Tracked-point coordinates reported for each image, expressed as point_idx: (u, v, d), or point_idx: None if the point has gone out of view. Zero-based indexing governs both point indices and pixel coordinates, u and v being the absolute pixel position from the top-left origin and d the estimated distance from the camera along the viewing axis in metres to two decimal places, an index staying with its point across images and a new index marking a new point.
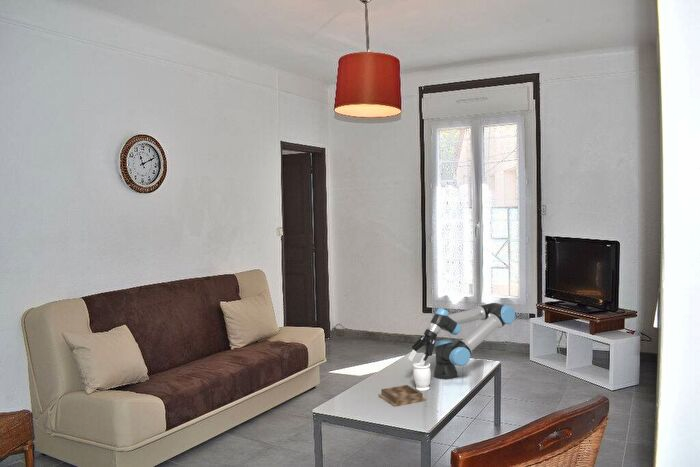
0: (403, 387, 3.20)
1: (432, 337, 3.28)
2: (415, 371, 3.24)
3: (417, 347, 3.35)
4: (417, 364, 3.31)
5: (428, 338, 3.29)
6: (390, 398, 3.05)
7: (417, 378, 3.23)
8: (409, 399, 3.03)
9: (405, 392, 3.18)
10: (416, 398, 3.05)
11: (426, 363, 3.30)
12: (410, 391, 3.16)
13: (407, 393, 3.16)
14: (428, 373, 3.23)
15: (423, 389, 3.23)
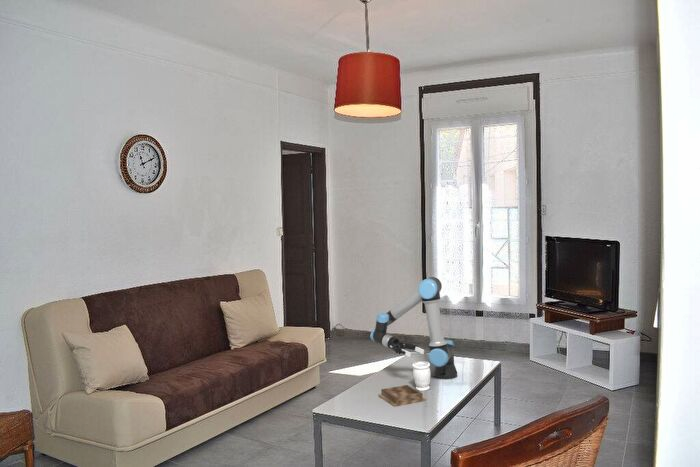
0: (403, 387, 3.20)
1: None
2: (414, 371, 3.24)
3: (411, 347, 3.42)
4: (418, 363, 3.30)
5: None
6: (390, 398, 3.05)
7: (416, 378, 3.23)
8: (409, 399, 3.03)
9: (405, 392, 3.18)
10: (416, 398, 3.05)
11: (427, 363, 3.28)
12: (410, 391, 3.16)
13: (407, 393, 3.16)
14: (426, 373, 3.21)
15: (422, 389, 3.23)
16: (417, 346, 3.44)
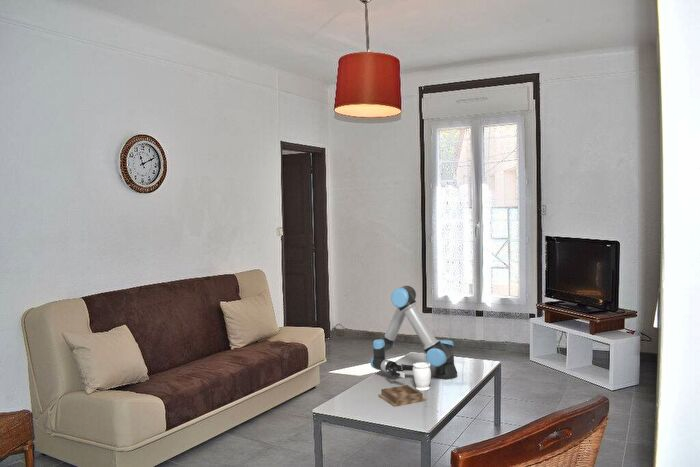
0: (403, 387, 3.20)
1: None
2: (414, 370, 3.25)
3: (409, 369, 3.43)
4: (418, 364, 3.31)
5: None
6: (390, 398, 3.05)
7: (416, 377, 3.24)
8: (409, 399, 3.03)
9: (405, 392, 3.18)
10: (416, 398, 3.05)
11: (427, 363, 3.30)
12: (410, 391, 3.16)
13: (407, 393, 3.16)
14: (427, 373, 3.23)
15: (422, 389, 3.23)
16: None
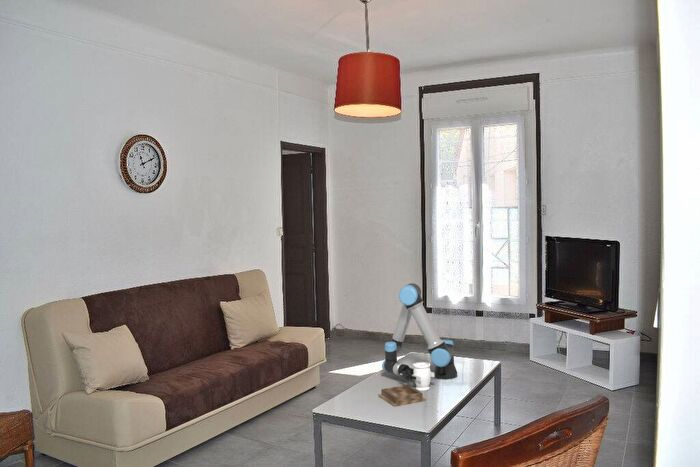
0: (403, 387, 3.20)
1: None
2: (414, 370, 3.25)
3: None
4: (418, 364, 3.31)
5: None
6: (390, 398, 3.05)
7: None
8: (409, 399, 3.03)
9: (405, 392, 3.18)
10: (416, 398, 3.05)
11: (427, 363, 3.30)
12: (410, 391, 3.16)
13: (407, 393, 3.16)
14: (427, 373, 3.22)
15: (422, 389, 3.23)
16: None
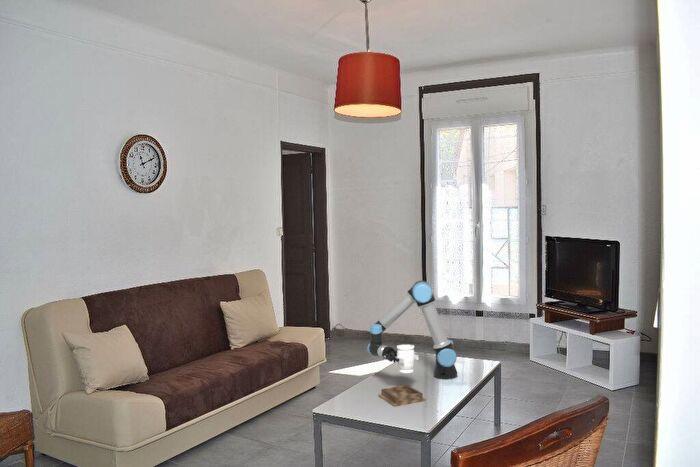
0: (403, 387, 3.20)
1: None
2: (398, 352, 3.18)
3: None
4: (402, 346, 3.24)
5: None
6: (390, 398, 3.05)
7: None
8: (409, 399, 3.03)
9: (405, 392, 3.18)
10: (416, 398, 3.05)
11: (411, 346, 3.22)
12: (410, 391, 3.16)
13: (407, 393, 3.16)
14: (410, 355, 3.15)
15: (405, 371, 3.16)
16: None
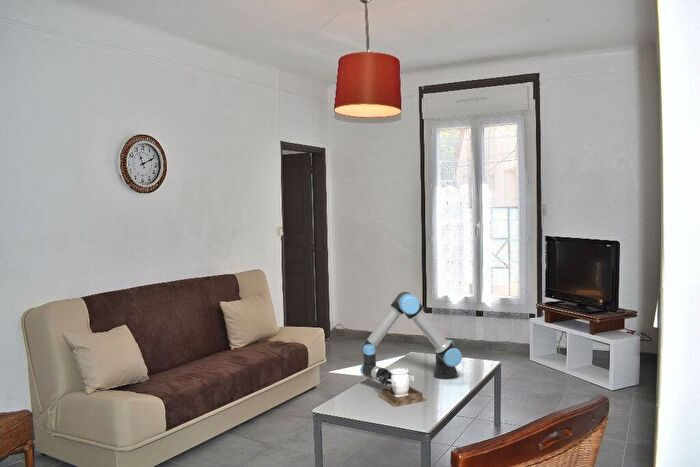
0: None
1: None
2: (392, 377, 3.09)
3: None
4: (396, 370, 3.16)
5: None
6: (390, 398, 3.05)
7: None
8: (409, 399, 3.03)
9: None
10: (416, 398, 3.05)
11: (405, 369, 3.14)
12: (410, 391, 3.16)
13: None
14: (405, 379, 3.07)
15: None
16: (408, 374, 3.20)
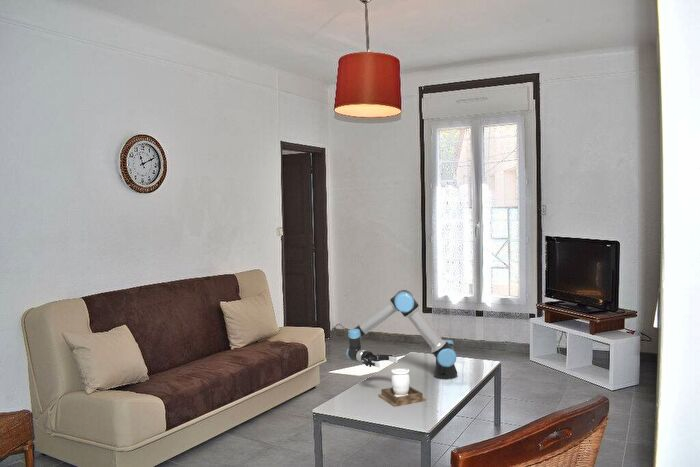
0: None
1: None
2: (392, 377, 3.10)
3: (385, 358, 3.29)
4: (397, 370, 3.16)
5: None
6: (390, 398, 3.05)
7: (394, 384, 3.08)
8: (409, 399, 3.03)
9: None
10: (416, 398, 3.05)
11: (406, 370, 3.14)
12: (410, 391, 3.16)
13: None
14: (405, 379, 3.07)
15: None
16: (391, 356, 3.30)
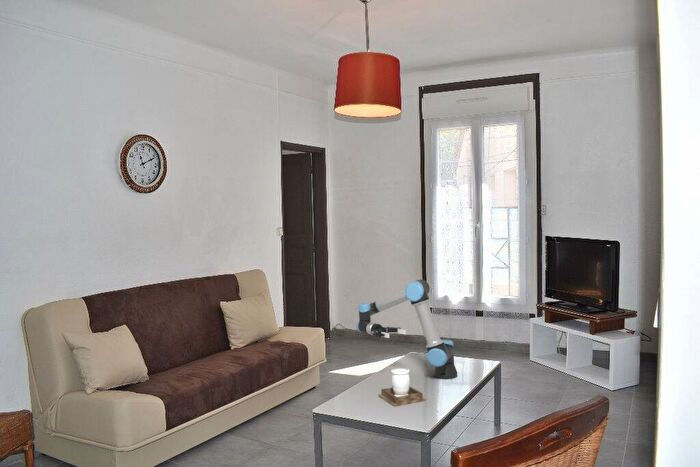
0: None
1: None
2: (392, 377, 3.09)
3: (394, 330, 3.45)
4: (397, 370, 3.16)
5: None
6: (390, 398, 3.05)
7: (394, 384, 3.08)
8: (409, 399, 3.03)
9: None
10: (416, 398, 3.05)
11: (406, 370, 3.14)
12: (410, 391, 3.16)
13: None
14: (405, 380, 3.07)
15: None
16: (400, 328, 3.46)
